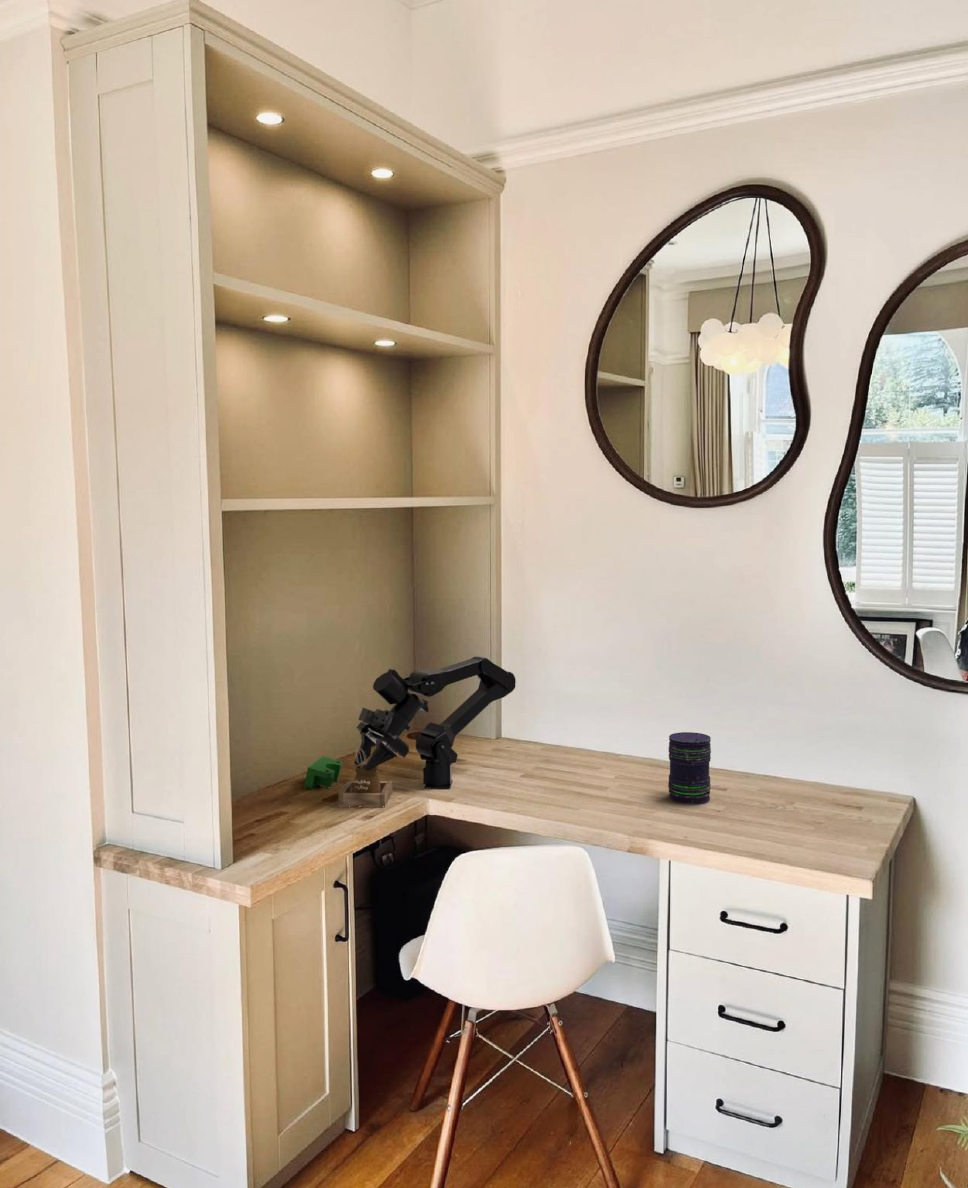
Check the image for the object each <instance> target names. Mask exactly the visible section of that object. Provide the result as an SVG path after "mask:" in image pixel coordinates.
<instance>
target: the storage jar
mask: <svg viewBox="0 0 968 1188" xmlns="http://www.w3.org/2000/svg"><path fill="white" fill-rule="evenodd" d="M668 740H669V742H668V760H669V775H668V785H667V786H668V793H669V794H668V799H669V800H670V802H673V803H676V804H681V805H686V806H687V805H688V806H694V805H696V806H697V805H698V806H699V805H705V804H708V803H709V802H710V801H711V796H710V794H711V787H712V786H711V776H710V762H711V759H712V756H711V753H712V752H711V751H712V748H711V740H712V738H711V736H710V735H708V734H705V733H700V732H692V731H690V732H687V731H685V732H684V731H683V732H675V733H670V734H669V735H668Z"/></svg>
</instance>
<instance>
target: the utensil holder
mask: <svg viewBox="0 0 968 1188" xmlns="http://www.w3.org/2000/svg"><path fill="white" fill-rule="evenodd" d="M374 748H375V749H376V746H375V747H372V748H371V755H372V751H373V752H374ZM359 749H360V748H359ZM360 750H361V749H360ZM358 751H359V750H358V749H356V751H355V753H354V754H355V755H354V756H355V758H356V756H357V754H358ZM362 752H363V751H362ZM359 753H360V751H359ZM364 753H365V752H364ZM363 755H364V754H363ZM360 756H361V755H360ZM365 757H366V756H365ZM370 757H371V756H370ZM370 757H369V758H370ZM360 758H361V757H360ZM357 760H358V758H357ZM357 760H356V761H357ZM361 762H362V760H361ZM363 762H364V764H358V766H357V765H356V766H355V776H354V781H355V789H356V793H380V792H381V788H380V781H381V778H380V774H379V772H378V766H376V767H374V768H372V769H370V770H369V771H366V770H365V769H364V767H365V765H366V763H367V762H366V760H365V758H364V761H363ZM363 762H362V763H363ZM358 763H359V761H358Z"/></svg>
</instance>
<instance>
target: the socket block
mask: <svg viewBox="0 0 968 1188" xmlns="http://www.w3.org/2000/svg"><path fill="white" fill-rule="evenodd" d="M380 788H381V792H380V793H356V789H355V780H348V781H346V783H345V784H344V786H343V787H342V788H341V790H340V791H339V792H338V793H337V794H338V795H337V802H338V808H351V807H359V806H361V807H383V806H384V807H385V806H386V807H387V805H388V803H389V801H390V800H391V798H390V796H391V795H392V796H393V781H389V780H387V781H385V780H383V781H382V780H380ZM392 796H391V797H392ZM388 800H389V801H388ZM386 804H387V805H386ZM349 806H350V807H349ZM386 807H385V808H386Z"/></svg>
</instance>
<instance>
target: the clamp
mask: <svg viewBox="0 0 968 1188" xmlns="http://www.w3.org/2000/svg"><path fill="white" fill-rule="evenodd" d="M343 765H344V762H343V761H340V760H338V759H335V758H331V757H327V756H325V755H323V756H321V757H320V758H319V759H317V760H316V761H315V762H313V763H312V764H310V765H309V766H308V767H307V769H306V770H307V771H306V774H305V775H306V776H305V780H304V785H303V786H304V788H306V789H309V790H312V789H313V790H314V789H315V788H316V787H317V786H321V787H325V788H327V787H330V788H329V789H331V788H332V786H333V782H334V783H338V782H339V777H340V772H341V771H342V769H343ZM315 786H316V787H315Z"/></svg>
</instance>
